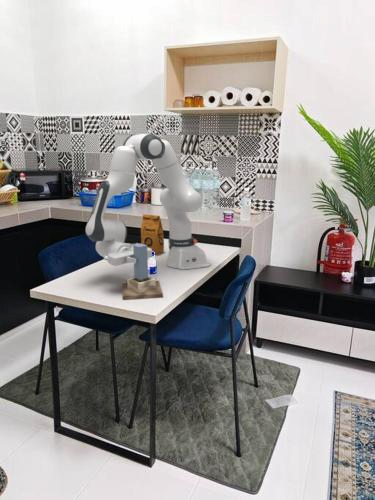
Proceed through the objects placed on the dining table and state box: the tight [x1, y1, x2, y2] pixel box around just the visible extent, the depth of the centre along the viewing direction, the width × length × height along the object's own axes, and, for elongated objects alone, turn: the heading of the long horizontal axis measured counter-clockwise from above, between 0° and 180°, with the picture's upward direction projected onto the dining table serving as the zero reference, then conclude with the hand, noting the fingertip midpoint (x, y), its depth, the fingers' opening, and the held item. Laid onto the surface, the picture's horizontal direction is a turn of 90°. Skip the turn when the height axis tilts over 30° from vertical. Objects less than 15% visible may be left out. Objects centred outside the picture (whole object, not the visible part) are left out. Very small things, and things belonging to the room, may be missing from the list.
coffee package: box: [140, 213, 165, 256], centre depth 220 cm, size 10×12×22 cm
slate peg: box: [133, 243, 149, 280], centre depth 162 cm, size 4×4×14 cm
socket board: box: [121, 275, 164, 301], centre depth 164 cm, size 16×16×6 cm
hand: (142, 259), depth 161 cm, fingers closed on slate peg, 4 cm apart
